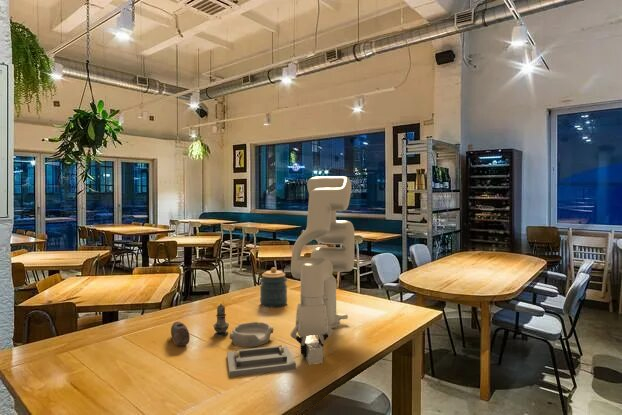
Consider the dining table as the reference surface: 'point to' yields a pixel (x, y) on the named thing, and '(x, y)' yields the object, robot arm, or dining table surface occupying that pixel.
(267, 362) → the switch frame
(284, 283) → the canister
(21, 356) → the dining table surface
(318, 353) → the aluminium bar
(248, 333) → the dish
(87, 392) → the dining table surface
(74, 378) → the dining table surface
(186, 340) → the perforated stone tool
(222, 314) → the dark grey chess piece
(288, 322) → the dining table surface
